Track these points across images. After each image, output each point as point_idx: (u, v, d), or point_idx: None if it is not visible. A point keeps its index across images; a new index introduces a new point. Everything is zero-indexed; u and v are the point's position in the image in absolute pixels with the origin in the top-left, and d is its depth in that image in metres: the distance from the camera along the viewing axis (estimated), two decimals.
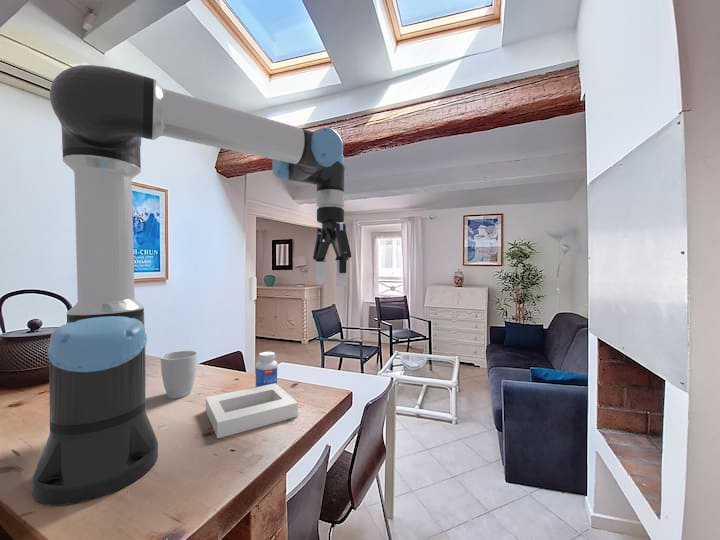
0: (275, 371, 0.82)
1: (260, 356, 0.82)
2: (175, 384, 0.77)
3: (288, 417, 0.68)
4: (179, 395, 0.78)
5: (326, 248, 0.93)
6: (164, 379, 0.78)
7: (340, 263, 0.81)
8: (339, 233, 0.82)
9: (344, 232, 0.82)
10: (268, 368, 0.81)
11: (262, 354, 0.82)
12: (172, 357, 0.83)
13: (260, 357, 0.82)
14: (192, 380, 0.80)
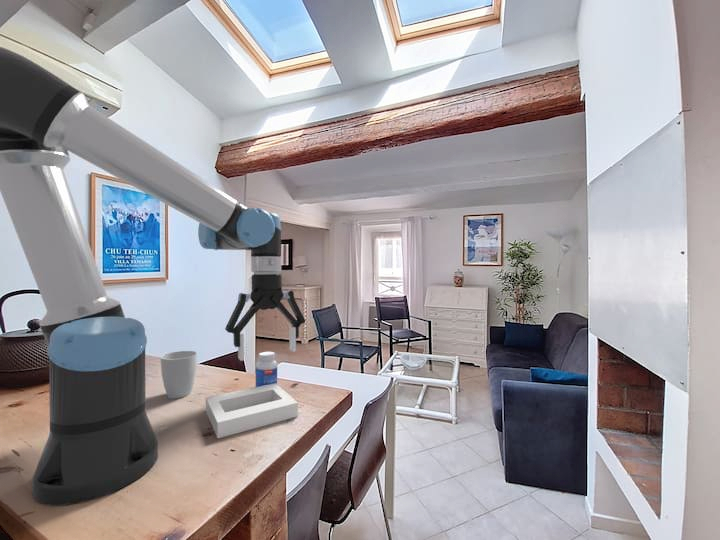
0: (275, 371, 0.82)
1: (260, 356, 0.82)
2: (175, 384, 0.77)
3: (288, 417, 0.68)
4: (179, 395, 0.78)
5: (284, 314, 0.85)
6: (164, 379, 0.78)
7: None
8: (236, 305, 0.80)
9: (239, 304, 0.78)
10: (268, 368, 0.81)
11: (262, 354, 0.82)
12: (172, 357, 0.83)
13: (260, 357, 0.82)
14: (192, 380, 0.80)
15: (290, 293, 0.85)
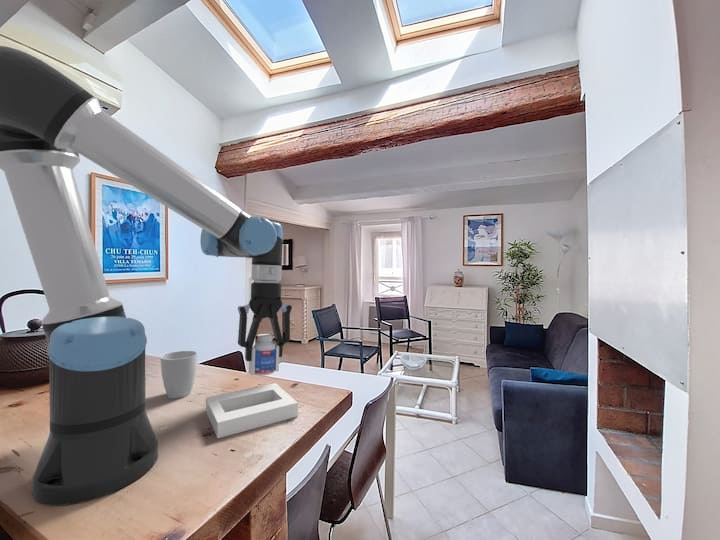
0: (273, 353, 0.82)
1: (258, 337, 0.81)
2: (175, 384, 0.77)
3: (288, 417, 0.68)
4: (179, 395, 0.78)
5: (274, 327, 0.83)
6: (164, 379, 0.78)
7: None
8: (240, 318, 0.80)
9: (241, 318, 0.79)
10: (266, 349, 0.80)
11: (260, 335, 0.82)
12: (172, 357, 0.83)
13: (258, 338, 0.81)
14: (192, 380, 0.80)
15: (288, 307, 0.85)
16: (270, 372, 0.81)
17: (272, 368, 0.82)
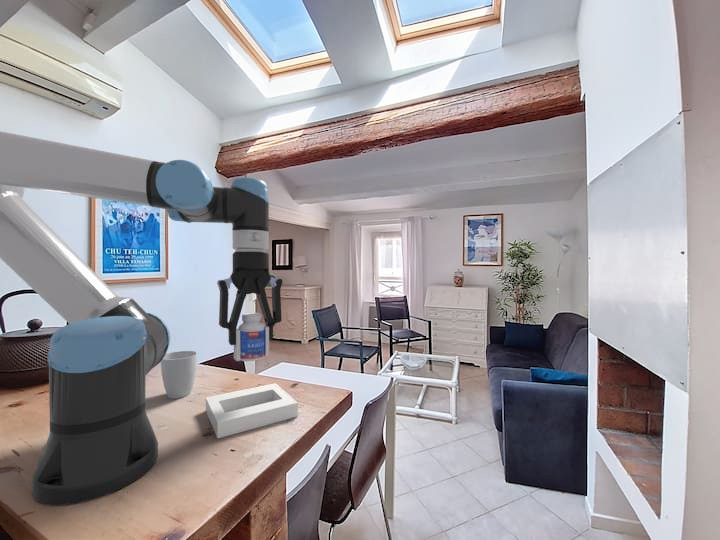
0: (261, 334, 0.69)
1: (243, 316, 0.69)
2: (175, 384, 0.77)
3: (288, 417, 0.68)
4: (179, 395, 0.78)
5: (262, 305, 0.71)
6: (164, 379, 0.78)
7: None
8: (220, 295, 0.67)
9: (221, 293, 0.66)
10: (253, 330, 0.68)
11: (246, 314, 0.69)
12: (172, 357, 0.83)
13: (243, 317, 0.69)
14: (192, 380, 0.80)
15: (278, 281, 0.72)
16: (259, 357, 0.68)
17: (261, 352, 0.69)
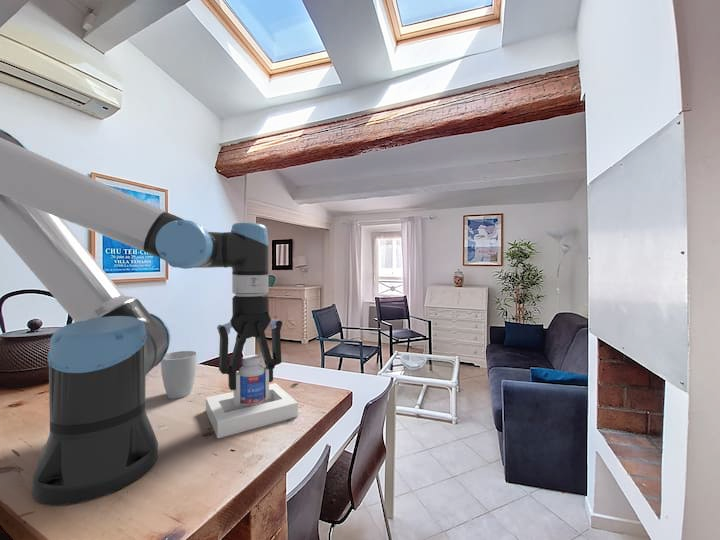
0: (261, 378, 0.69)
1: (243, 360, 0.69)
2: (175, 384, 0.77)
3: (288, 417, 0.68)
4: (179, 395, 0.78)
5: (262, 348, 0.71)
6: (164, 379, 0.78)
7: None
8: (220, 340, 0.67)
9: (221, 339, 0.66)
10: (253, 375, 0.68)
11: (246, 358, 0.69)
12: (172, 357, 0.83)
13: (243, 362, 0.69)
14: (192, 380, 0.80)
15: (278, 323, 0.72)
16: (259, 401, 0.68)
17: (261, 396, 0.69)
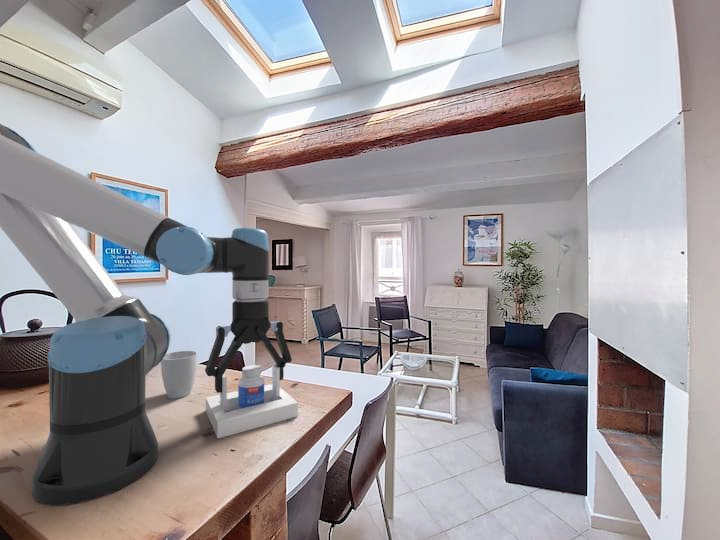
0: (261, 389, 0.69)
1: (243, 371, 0.69)
2: (175, 384, 0.77)
3: (288, 417, 0.68)
4: (179, 395, 0.78)
5: (268, 350, 0.71)
6: (164, 379, 0.78)
7: None
8: (215, 341, 0.67)
9: (217, 340, 0.65)
10: (253, 386, 0.68)
11: (246, 369, 0.69)
12: (172, 357, 0.83)
13: (243, 372, 0.69)
14: (192, 380, 0.80)
15: (279, 325, 0.72)
16: None
17: None
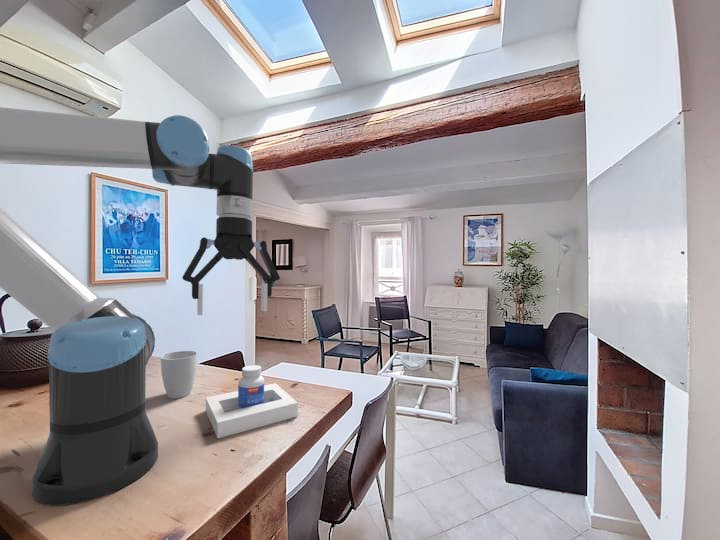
0: (261, 389, 0.69)
1: (243, 371, 0.69)
2: (175, 384, 0.77)
3: (288, 417, 0.68)
4: (179, 395, 0.78)
5: (254, 267, 0.74)
6: (164, 379, 0.78)
7: None
8: (197, 251, 0.69)
9: (198, 249, 0.68)
10: (253, 386, 0.68)
11: (246, 369, 0.69)
12: (172, 357, 0.83)
13: (243, 372, 0.69)
14: (192, 380, 0.80)
15: (262, 243, 0.74)
16: None
17: None
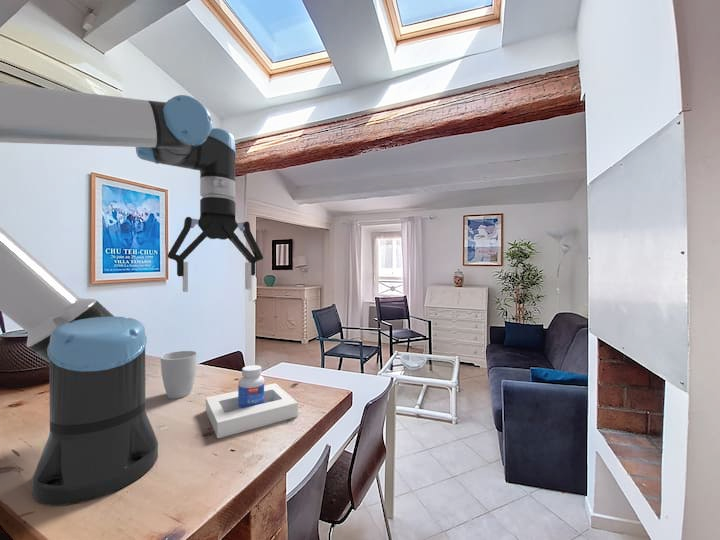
0: (261, 389, 0.69)
1: (243, 371, 0.69)
2: (175, 384, 0.77)
3: (288, 417, 0.68)
4: (179, 395, 0.78)
5: (238, 247, 0.76)
6: (164, 379, 0.78)
7: None
8: None
9: (183, 228, 0.70)
10: (253, 386, 0.68)
11: (246, 369, 0.69)
12: (172, 357, 0.83)
13: (243, 372, 0.69)
14: (192, 380, 0.80)
15: (245, 224, 0.77)
16: None
17: None
